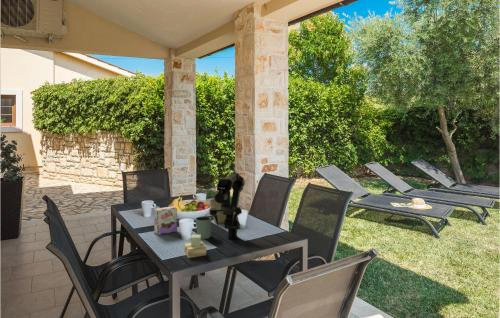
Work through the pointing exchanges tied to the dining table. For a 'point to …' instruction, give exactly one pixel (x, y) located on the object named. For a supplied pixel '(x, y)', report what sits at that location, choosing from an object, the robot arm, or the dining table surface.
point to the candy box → (165, 220)
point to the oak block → (194, 250)
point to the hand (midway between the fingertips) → (225, 225)
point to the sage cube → (195, 240)
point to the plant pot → (218, 207)
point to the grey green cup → (203, 226)
